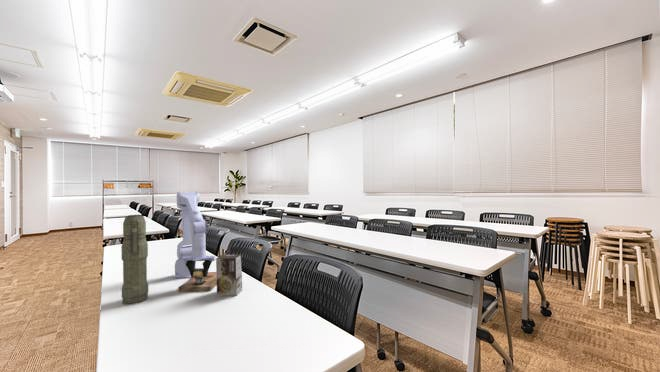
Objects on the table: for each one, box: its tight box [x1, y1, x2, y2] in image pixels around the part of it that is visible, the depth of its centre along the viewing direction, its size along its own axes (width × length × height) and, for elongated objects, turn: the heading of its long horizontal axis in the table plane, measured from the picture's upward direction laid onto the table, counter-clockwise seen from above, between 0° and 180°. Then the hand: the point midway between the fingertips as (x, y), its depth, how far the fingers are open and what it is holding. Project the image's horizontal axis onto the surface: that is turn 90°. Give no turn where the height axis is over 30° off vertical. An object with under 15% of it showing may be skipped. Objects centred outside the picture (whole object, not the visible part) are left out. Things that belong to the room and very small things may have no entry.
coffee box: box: [215, 254, 243, 297], centre depth 119 cm, size 9×6×16 cm
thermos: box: [120, 214, 149, 306], centre depth 112 cm, size 9×12×35 cm
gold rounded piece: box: [193, 267, 204, 285], centre depth 126 cm, size 5×5×9 cm
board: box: [177, 271, 217, 293], centre depth 132 cm, size 14×21×2 cm, turn 1°
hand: (199, 276), depth 126 cm, fingers closed on gold rounded piece, 5 cm apart
